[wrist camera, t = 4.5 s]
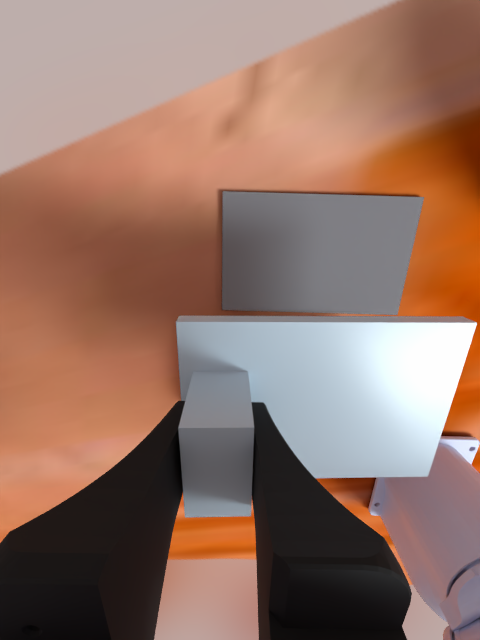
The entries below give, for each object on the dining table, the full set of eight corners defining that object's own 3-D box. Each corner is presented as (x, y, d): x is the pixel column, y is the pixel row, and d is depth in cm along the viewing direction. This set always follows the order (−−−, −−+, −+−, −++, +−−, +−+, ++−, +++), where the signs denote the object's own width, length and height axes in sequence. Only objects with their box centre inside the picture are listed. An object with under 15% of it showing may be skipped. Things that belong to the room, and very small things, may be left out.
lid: (418, 463, 15) (485, 551, 11) (189, 467, 15) (172, 559, 11) (462, 316, 12) (575, 362, 8) (179, 315, 12) (152, 363, 8)
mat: (395, 313, 21) (397, 314, 20) (222, 308, 21) (222, 310, 20) (421, 197, 18) (423, 197, 18) (223, 191, 18) (222, 191, 18)
